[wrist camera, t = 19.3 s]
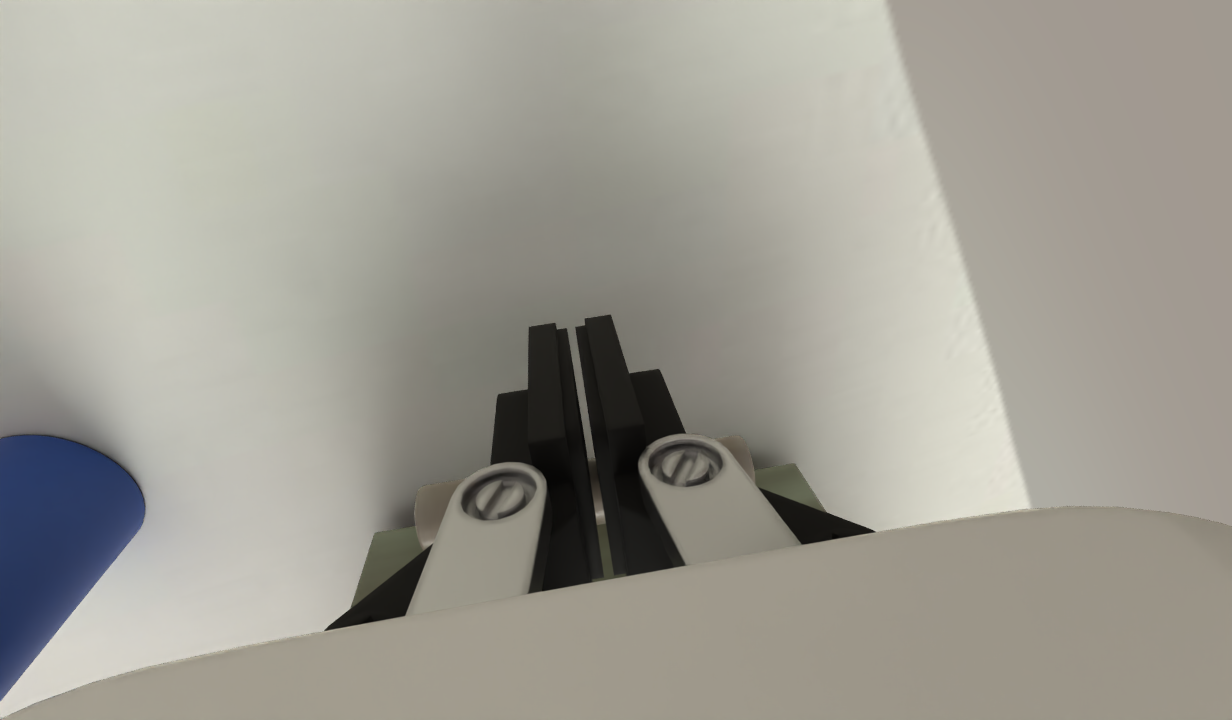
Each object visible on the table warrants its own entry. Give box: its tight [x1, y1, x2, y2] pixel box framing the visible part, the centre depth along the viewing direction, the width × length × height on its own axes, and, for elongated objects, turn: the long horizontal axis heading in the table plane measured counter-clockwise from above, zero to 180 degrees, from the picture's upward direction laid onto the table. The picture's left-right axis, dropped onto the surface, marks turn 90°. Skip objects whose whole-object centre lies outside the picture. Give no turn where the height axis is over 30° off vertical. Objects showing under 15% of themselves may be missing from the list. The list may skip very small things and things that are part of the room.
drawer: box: [351, 435, 827, 608], centre depth 17 cm, size 19×13×8 cm
